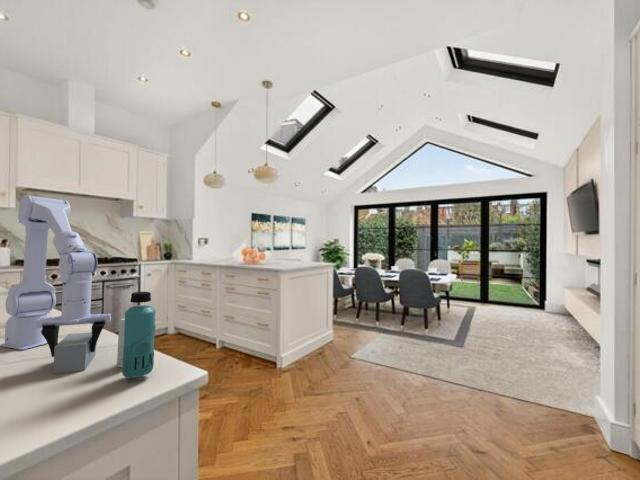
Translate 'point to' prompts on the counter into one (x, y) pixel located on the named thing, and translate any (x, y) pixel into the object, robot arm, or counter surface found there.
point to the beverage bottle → (139, 337)
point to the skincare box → (120, 343)
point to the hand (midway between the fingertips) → (74, 353)
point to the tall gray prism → (73, 353)
